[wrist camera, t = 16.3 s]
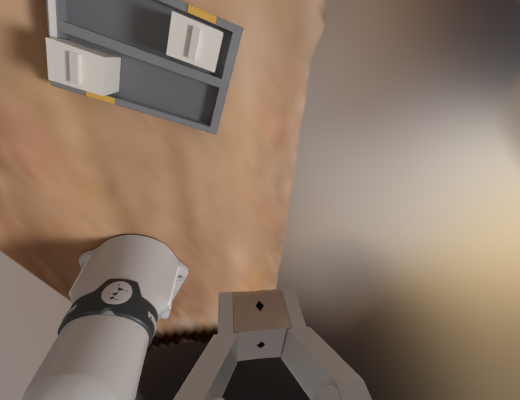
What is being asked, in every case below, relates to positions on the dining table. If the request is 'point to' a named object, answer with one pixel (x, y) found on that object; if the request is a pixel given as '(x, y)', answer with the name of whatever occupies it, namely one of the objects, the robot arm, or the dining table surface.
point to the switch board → (150, 56)
